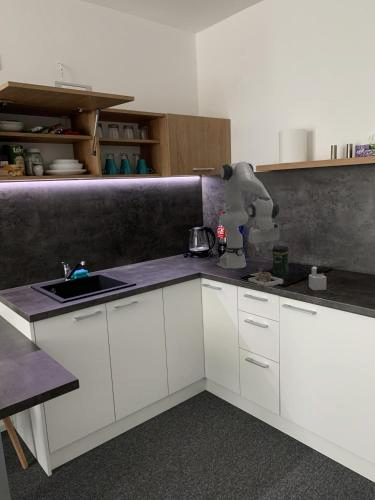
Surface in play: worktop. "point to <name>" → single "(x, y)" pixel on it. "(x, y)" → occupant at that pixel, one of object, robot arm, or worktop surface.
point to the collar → (264, 277)
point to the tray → (268, 284)
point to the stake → (257, 273)
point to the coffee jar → (280, 260)
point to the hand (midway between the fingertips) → (264, 249)
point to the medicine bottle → (317, 278)
